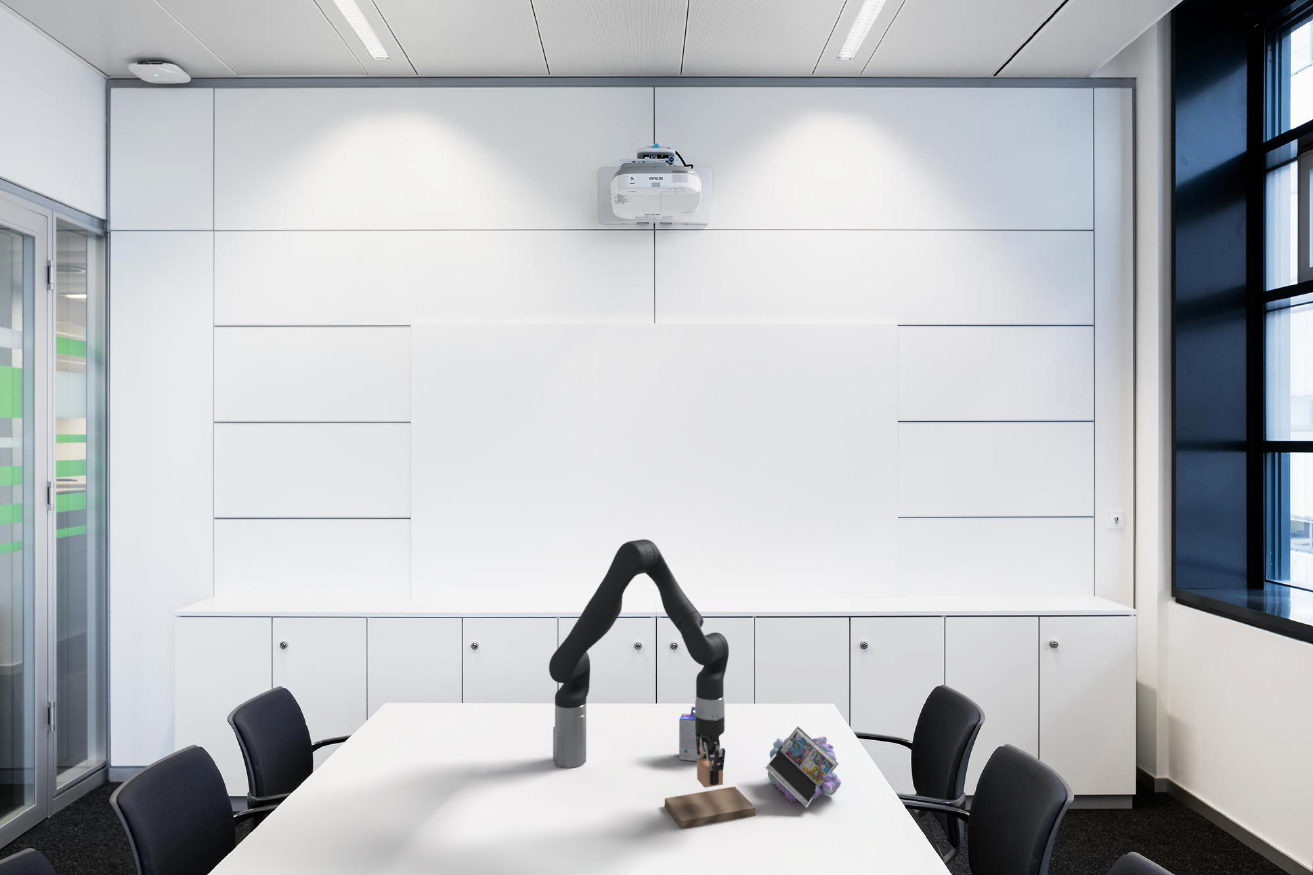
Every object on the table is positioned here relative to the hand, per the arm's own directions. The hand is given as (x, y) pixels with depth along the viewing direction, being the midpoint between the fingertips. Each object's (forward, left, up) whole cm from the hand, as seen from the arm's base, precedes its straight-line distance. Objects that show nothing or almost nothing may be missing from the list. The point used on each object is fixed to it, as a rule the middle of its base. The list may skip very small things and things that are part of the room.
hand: (709, 779), depth 190 cm
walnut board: (0, 0, -8) cm, 8 cm away
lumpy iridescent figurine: (+28, +1, -8) cm, 29 cm away
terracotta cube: (0, 0, -1) cm, 1 cm away
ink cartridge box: (+9, +30, -8) cm, 32 cm away
